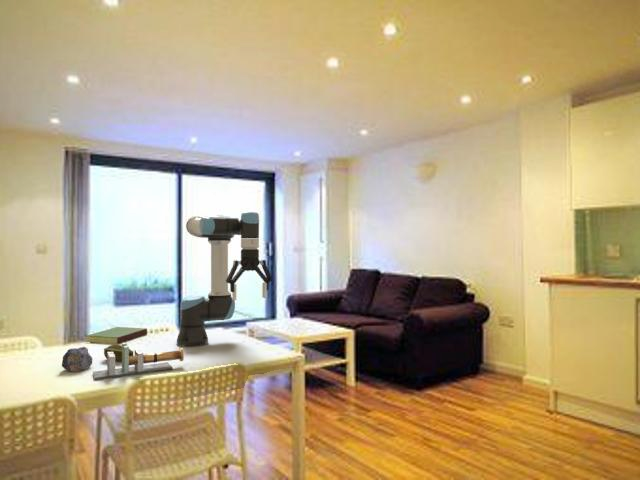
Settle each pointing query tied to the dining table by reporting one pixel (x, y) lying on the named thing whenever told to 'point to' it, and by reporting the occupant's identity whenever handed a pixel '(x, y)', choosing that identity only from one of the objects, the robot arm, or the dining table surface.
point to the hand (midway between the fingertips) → (249, 298)
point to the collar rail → (127, 370)
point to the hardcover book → (116, 335)
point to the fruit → (116, 352)
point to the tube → (158, 357)
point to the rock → (77, 360)
